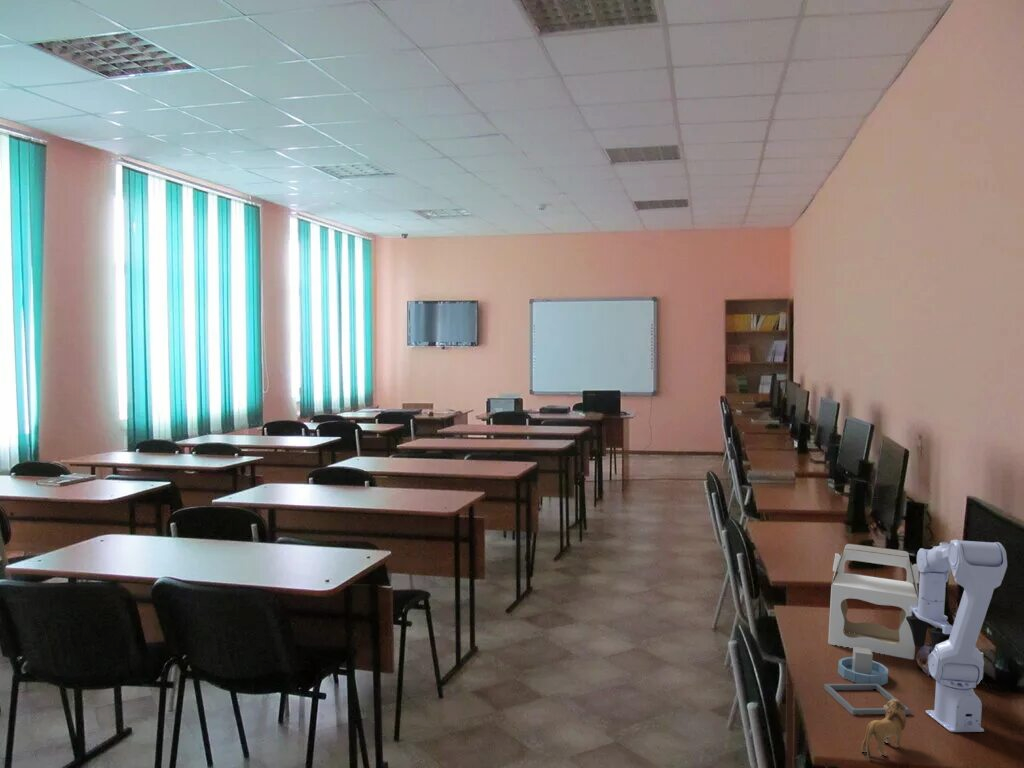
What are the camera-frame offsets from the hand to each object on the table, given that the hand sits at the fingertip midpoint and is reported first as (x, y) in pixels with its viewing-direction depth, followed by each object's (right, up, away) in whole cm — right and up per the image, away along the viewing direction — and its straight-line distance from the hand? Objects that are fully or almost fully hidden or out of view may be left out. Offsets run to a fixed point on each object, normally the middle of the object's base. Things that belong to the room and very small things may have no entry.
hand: (928, 652), depth 195 cm
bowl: (-13, -9, +8) cm, 17 cm away
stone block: (-13, -8, +8) cm, 17 cm away
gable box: (-1, -8, +30) cm, 31 cm away
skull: (+7, -9, +12) cm, 17 cm away
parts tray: (-19, -9, -7) cm, 22 cm away
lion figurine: (-25, -11, -29) cm, 39 cm away
